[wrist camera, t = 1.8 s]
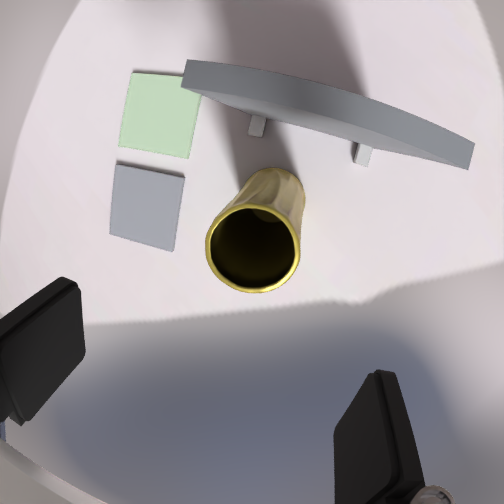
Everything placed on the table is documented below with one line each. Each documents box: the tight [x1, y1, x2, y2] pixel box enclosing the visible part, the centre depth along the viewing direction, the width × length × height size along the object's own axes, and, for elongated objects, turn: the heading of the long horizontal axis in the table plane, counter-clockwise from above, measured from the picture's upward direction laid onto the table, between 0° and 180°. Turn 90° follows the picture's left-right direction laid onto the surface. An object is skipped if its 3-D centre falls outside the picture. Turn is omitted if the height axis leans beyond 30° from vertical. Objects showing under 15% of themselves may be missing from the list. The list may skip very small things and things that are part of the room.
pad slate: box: [109, 164, 185, 252], centre depth 32 cm, size 8×8×1 cm
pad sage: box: [118, 73, 202, 159], centre depth 28 cm, size 8×8×1 cm
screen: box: [181, 59, 475, 170], centre depth 19 cm, size 5×12×18 cm, turn 77°
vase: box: [205, 168, 305, 293], centre depth 24 cm, size 6×6×14 cm
